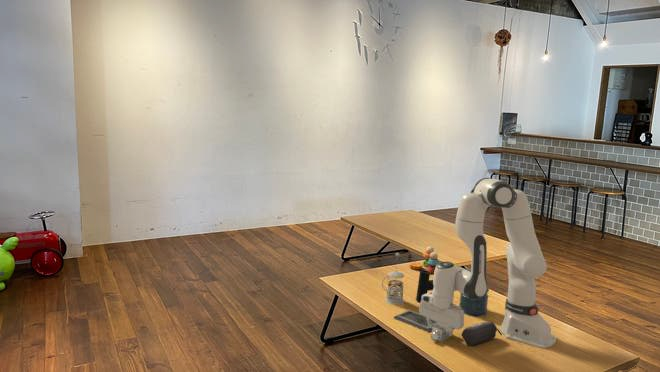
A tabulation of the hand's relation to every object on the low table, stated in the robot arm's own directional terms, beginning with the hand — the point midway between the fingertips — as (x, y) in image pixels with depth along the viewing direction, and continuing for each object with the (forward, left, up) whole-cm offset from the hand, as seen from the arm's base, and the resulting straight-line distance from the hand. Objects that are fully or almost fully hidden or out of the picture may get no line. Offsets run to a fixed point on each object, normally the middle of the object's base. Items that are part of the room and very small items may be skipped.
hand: (439, 331), depth 207 cm
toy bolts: (+55, -70, -3) cm, 89 cm away
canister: (+5, -36, -3) cm, 36 cm away
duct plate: (+15, -5, -3) cm, 16 cm away
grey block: (-1, -1, -3) cm, 3 cm away
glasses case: (-14, -9, -3) cm, 17 cm away
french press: (+38, -16, -3) cm, 41 cm away
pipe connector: (+28, -30, -3) cm, 41 cm away
